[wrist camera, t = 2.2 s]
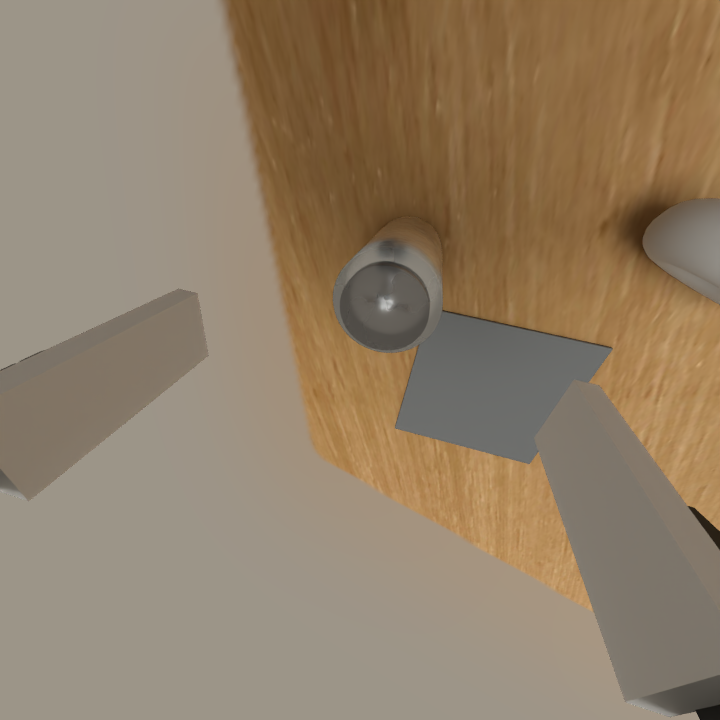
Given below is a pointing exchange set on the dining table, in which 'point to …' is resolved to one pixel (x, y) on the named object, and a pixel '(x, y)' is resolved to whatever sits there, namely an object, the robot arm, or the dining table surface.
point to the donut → (688, 244)
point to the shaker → (392, 287)
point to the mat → (491, 384)
